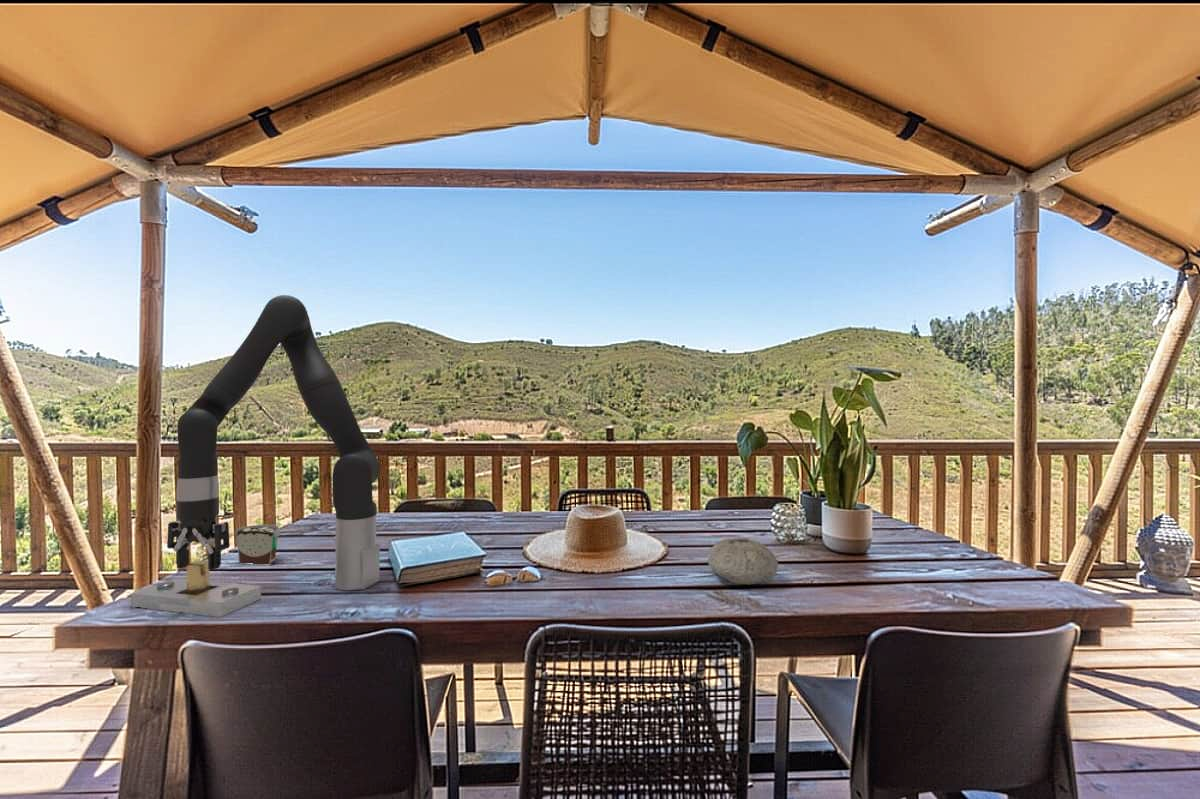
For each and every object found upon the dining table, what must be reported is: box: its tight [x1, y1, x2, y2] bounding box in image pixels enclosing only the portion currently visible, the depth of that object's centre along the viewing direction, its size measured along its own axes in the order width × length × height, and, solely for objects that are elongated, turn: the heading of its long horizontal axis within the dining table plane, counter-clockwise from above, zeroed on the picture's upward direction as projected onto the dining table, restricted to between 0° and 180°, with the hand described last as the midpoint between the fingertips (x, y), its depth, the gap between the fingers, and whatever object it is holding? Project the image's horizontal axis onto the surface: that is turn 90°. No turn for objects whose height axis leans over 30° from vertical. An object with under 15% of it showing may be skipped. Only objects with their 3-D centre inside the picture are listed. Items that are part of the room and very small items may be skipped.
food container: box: [234, 524, 282, 566], centre depth 142 cm, size 12×6×10 cm, turn 84°
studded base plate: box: [130, 577, 262, 618], centre depth 113 cm, size 24×10×4 cm, turn 79°
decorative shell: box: [707, 537, 779, 586], centre depth 131 cm, size 18×18×10 cm
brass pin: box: [186, 560, 210, 595], centre depth 113 cm, size 4×4×9 cm
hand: (198, 568), depth 113 cm, fingers open, 8 cm apart
